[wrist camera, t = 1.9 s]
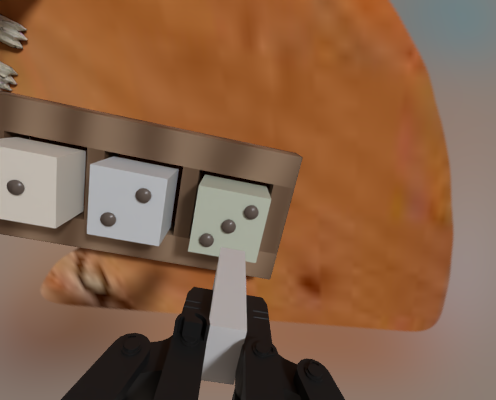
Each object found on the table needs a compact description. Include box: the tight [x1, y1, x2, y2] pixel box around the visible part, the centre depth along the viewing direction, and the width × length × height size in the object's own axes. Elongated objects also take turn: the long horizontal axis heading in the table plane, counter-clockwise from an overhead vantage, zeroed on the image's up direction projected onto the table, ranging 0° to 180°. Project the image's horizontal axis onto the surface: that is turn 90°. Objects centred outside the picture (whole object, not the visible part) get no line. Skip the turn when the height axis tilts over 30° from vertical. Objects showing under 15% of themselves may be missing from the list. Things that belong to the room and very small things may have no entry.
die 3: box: [188, 174, 271, 263], centre depth 26 cm, size 6×6×4 cm
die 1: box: [0, 137, 86, 228], centre depth 24 cm, size 6×6×4 cm
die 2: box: [87, 156, 179, 246], centre depth 25 cm, size 6×6×4 cm
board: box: [0, 91, 303, 279], centre depth 28 cm, size 28×13×3 cm, turn 78°
